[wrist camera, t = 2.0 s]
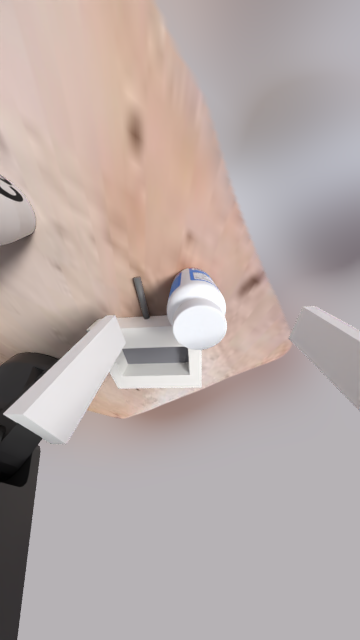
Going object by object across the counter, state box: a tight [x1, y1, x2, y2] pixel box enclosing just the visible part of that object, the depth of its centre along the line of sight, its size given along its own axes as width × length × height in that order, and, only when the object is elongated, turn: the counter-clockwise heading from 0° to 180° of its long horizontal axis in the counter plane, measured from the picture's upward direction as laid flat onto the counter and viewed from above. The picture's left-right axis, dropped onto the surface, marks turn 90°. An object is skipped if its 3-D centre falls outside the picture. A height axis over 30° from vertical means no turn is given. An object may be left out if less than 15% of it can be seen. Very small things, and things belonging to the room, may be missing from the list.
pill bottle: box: [167, 268, 227, 350], centre depth 14 cm, size 6×5×10 cm
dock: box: [86, 277, 202, 389], centre depth 21 cm, size 16×20×3 cm
